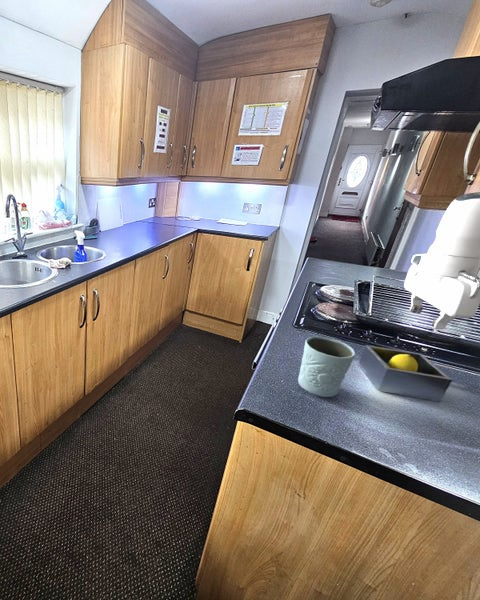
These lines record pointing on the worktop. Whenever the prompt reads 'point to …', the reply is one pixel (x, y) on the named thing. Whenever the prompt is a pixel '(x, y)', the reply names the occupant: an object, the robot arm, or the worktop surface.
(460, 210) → the robot arm
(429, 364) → the open grey rectangular container
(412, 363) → the lemon
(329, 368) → the pale green embossed cup
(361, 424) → the worktop surface
